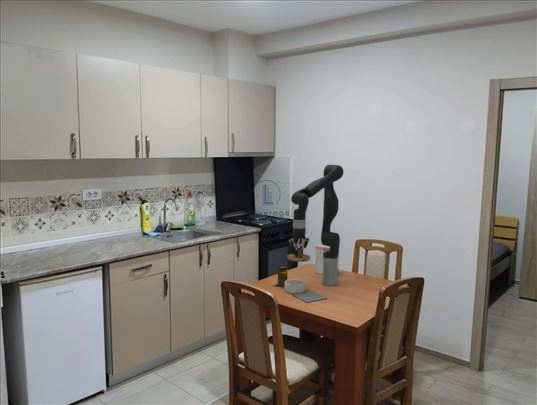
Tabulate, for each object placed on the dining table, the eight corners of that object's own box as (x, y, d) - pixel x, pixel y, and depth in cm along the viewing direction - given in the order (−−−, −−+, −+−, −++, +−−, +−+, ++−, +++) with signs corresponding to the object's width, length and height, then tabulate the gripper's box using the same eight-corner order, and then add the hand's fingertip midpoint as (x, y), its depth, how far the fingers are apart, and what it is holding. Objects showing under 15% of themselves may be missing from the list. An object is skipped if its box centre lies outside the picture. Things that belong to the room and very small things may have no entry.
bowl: (297, 286, 263) (297, 278, 263) (308, 291, 253) (309, 283, 252) (281, 289, 257) (281, 281, 257) (292, 294, 247) (292, 286, 246)
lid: (301, 254, 260) (302, 244, 259) (315, 260, 248) (315, 249, 247) (282, 257, 253) (282, 247, 252) (294, 262, 241) (295, 252, 240)
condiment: (290, 286, 262) (290, 267, 261) (278, 288, 258) (279, 269, 256) (283, 283, 268) (283, 265, 267) (272, 285, 264) (272, 266, 262)
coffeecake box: (338, 274, 289) (339, 246, 287) (333, 277, 284) (334, 248, 281) (319, 270, 298) (320, 243, 296) (314, 272, 293) (315, 245, 291)
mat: (312, 291, 253) (312, 290, 253) (327, 299, 241) (327, 297, 241) (293, 295, 246) (293, 294, 246) (306, 303, 234) (306, 301, 234)
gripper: (305, 224, 255) (304, 253, 257) (285, 226, 248) (285, 255, 250) (312, 227, 248) (311, 255, 250) (292, 228, 242) (291, 258, 244)
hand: (298, 255), depth 250 cm, fingers closed on lid, 3 cm apart
